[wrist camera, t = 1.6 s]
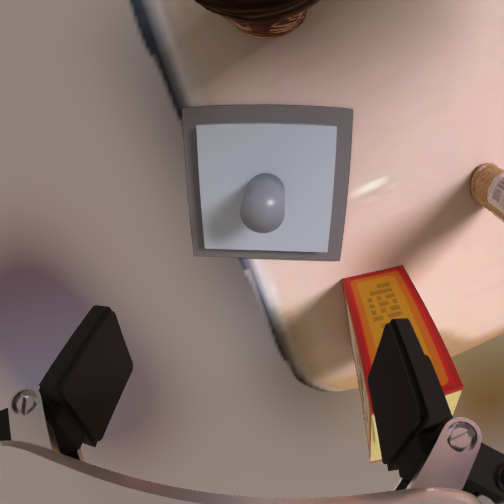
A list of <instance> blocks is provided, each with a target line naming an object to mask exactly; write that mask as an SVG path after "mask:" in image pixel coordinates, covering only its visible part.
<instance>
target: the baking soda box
mask: <svg viewBox="0 0 504 504" xmlns="http://www.w3.org/2000/svg"><path fill="white" fill-rule="evenodd" d="M342 283H343V290H344V296H345V303H346V310H347V317H348V325H349V332H350V341H351V347H352V352H353V357H354V362H355V367H356V373H357V378H358V384H359V390H360V395H361V401H362V407H363V414H364V420H365V427H366V434H367V441H368V449H369V457H370V463H372V462H376V461H381V460H382V457H381V450H380V444H379V439H378V433H377V427H376V422H375V417H374V411H373V406H372V401H371V396H370V392H369V387H368V375H369V372H370V369H371V367H372V364H373V361H374V358H375V355H376V352H377V349H378V346H379V343H380V340H381V337H382V333H383V330H384V327H385V324H386V323H390V321H391V320H392V319H400V318H408V319H409V320H410V322H411V325H412V327H413V329H414V331H415V333H416V336H417V338H418V340H419V343H420V345H421V347H422V350H423V352H424V354H425V355H427V356H429V358H430V360H431V362H432V364H433V367H434V369H435V372H436V374H437V377H438V379H439V382H440V384H441V387H442V389H443V392H444V395H445V397H446V400H447V403H448V406H449V408H450V411H451V414H452V415H453V412H454V409H455V407H456V405H457V402H458V399H459V396H460V393H461V391H462V388H463V385H462V382H461V380H460V378H459V375H458V373H457V370H456V368H455V366H454V364H453V361H452V359H451V357H450V355H449V353H448V351H447V348H446V346H445V344H444V342H443V340H442V338H441V336H440V334H439V332H438V330H437V328H436V326H435V324H434V322H433V320H432V318H431V316H430V314H429V312H428V310H427V308H426V306H425V304H424V303H423V301H422V299H421V297H420V295H419V293H418V292H417V290H416V288H415V286H414V284H413V283H412V281H411V279H410V277H409V275H408V274H407V272H406V270H405V269H404V267H403V265H401V266H397V267H393V268H389V269H384V270H380V271H375V272H371V273H367V274H362V275H358V276H353V277H348V278H344V279H342Z"/></svg>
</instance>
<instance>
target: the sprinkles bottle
mask: <svg viewBox="0 0 504 504" xmlns="http://www.w3.org/2000/svg"><path fill="white" fill-rule="evenodd" d="M471 193H472V196H473V198H474V200H475V201H476V202H477V203H478V204H479V205H481V206H484V207H485V208H487V209H488V210H489V211H491V212H492V213H493V214H494V215H495V216H496V217H497V218H499V219H500V220H501V221H503V222H504V170H502V169H500V168H499V167H498V166H496V165H495V164H493V163H485V164H483V165H481V166H480V167H478V168H477V170H476V171H475V173H474V175H473V177H472V181H471Z"/></svg>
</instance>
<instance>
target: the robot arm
mask: <svg viewBox="0 0 504 504" xmlns="http://www.w3.org/2000/svg"><path fill="white" fill-rule="evenodd" d="M132 369H133V363H132V360H131V357H130V355H129V352H128V349H127V346H126V344H125V341H124V338H123V335H122V333H121V330H120V326H119V324H118V320H117V317H116V314H115V313H114V312H113V311H112V310H111V309H110V307H105V306H97V305H96V306H93V307H92V309H91V310H90V312H89V313H88V314H87V315H86V317H85V318H84V319H83V321H82V322H81V324H80V325H79V327H78V328H77V329H76V331H75V332H74V333H73V335H72V336H71V338H70V339H69V341H68V342H67V343H66V345H65V346H64V348H63V349H62V351H61V352H60V354H59V355H58V357H57V358H56V360H55V361H54V363H53V364H52V366H51V367H50V369H49V370H48V372H47V373H46V375H45V376H44V378H43V380H42V381H41V383H40V384H39V385H40V389H39V391H38V390H37V389H36V388H34V387H31V386H25V387H22V388H20V389H17V390H16V391H15V392H14V393H13V394H12V396H11V397H10V399H9V402H8V408H6V409H4V410H2V411H0V504H504V454H502V453H500V452H498V451H496V450H494V449H493V448H490V447H489V446H487V445H485V444H483V443H482V442H481V441H482V436H481V431H480V429H479V427H478V426H477V425H476V424H475V422H473V421H471V420H470V419H467V418H464V417H457V418H454V419H453V417H452V414H451V411H450V408H449V406H448V403H447V400H446V397H445V395H444V392H443V389H442V387H441V384H440V382H439V379H438V377H437V374H436V372H435V369H434V367H433V364H432V362H431V360H430V358H429V356H427V355H425V354H424V352H423V350H422V347H421V345H420V343H419V340H418V338H417V336H416V333H415V331H414V329H413V327H412V325H411V322H410V320H409V319H408V318H400V319H392V320H391V321H390V323H386V324H385V327H384V330H383V333H382V337H381V340H380V343H379V346H378V349H377V352H376V355H375V358H374V361H373V364H372V367H371V369H370V372H369V375H368V387H369V392H370V396H371V401H372V406H373V411H374V417H375V422H376V427H377V433H378V439H379V444H380V450H381V457H382V462H383V463H384V464H387V466H388V471H392V470H398V469H399V474H400V477H401V479H400V480H399V482H398V483H397V485H396V486H395V488H394V489H393V490H392V491H387V492H380V493H372V494H363V495H353V496H340V497H324V498H263V497H246V496H234V495H225V494H216V493H209V492H202V491H195V490H189V489H183V488H178V487H173V486H168V485H163V484H159V483H154V482H150V481H145V480H141V479H138V478H134V477H130V476H127V475H123V474H120V473H116V472H113V471H109V470H106V469H103V468H100V467H97V466H94V465H91V464H88V463H86V462H85V460H84V457H83V454H82V452H81V448H80V447H81V445H82V443H85V444H87V445H90V446H94V447H95V446H96V444H97V442H98V441H100V440H101V439H102V438H103V436H104V433H105V431H106V428H107V426H108V424H109V421H110V419H111V417H112V415H113V412H114V410H115V407H116V405H117V403H118V401H119V399H120V396H121V394H122V392H123V390H124V387H125V385H126V383H127V381H128V379H129V377H130V374H131V372H132Z"/></svg>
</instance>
